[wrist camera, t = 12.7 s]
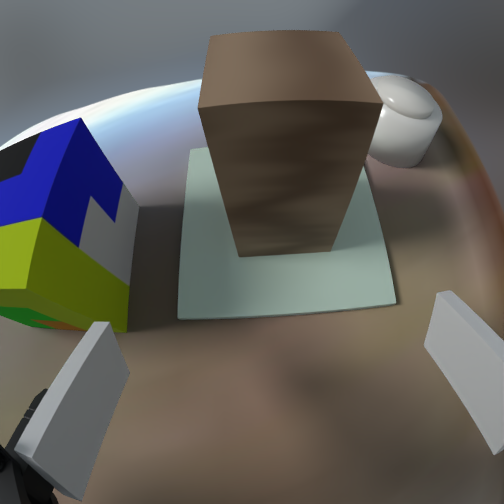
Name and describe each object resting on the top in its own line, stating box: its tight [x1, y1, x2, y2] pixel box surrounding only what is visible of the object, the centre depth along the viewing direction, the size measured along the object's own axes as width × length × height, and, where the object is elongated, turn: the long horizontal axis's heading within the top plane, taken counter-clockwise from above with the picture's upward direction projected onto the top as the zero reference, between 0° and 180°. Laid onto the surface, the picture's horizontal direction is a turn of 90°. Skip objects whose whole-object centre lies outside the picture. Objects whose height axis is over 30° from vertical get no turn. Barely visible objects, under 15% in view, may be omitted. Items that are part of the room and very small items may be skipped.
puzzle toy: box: [0, 118, 139, 333], centre depth 16 cm, size 10×10×10 cm
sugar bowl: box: [368, 76, 442, 168], centre depth 21 cm, size 7×7×6 cm
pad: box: [177, 147, 396, 320], centre depth 21 cm, size 14×14×1 cm
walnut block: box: [198, 30, 384, 257], centre depth 15 cm, size 6×6×12 cm
